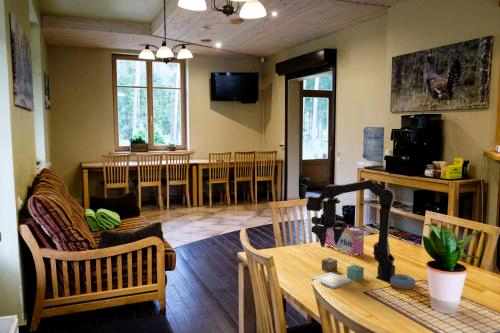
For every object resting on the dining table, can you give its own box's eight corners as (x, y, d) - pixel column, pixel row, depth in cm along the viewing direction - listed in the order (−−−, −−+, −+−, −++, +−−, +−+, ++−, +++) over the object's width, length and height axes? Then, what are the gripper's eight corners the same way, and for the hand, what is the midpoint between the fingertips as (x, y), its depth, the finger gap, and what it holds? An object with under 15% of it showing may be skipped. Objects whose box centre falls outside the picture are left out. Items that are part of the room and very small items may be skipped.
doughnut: (392, 289, 162) (393, 278, 162) (387, 281, 172) (388, 271, 172) (417, 292, 161) (419, 281, 161) (411, 284, 171) (412, 274, 171)
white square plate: (351, 281, 171) (351, 279, 171) (333, 288, 164) (333, 286, 164) (330, 274, 181) (330, 271, 181) (311, 280, 174) (311, 278, 173)
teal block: (363, 278, 176) (363, 267, 175) (356, 281, 172) (356, 269, 172) (354, 275, 179) (354, 264, 179) (347, 277, 176) (347, 266, 176)
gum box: (322, 245, 228) (323, 222, 226) (333, 243, 231) (333, 220, 230) (353, 256, 207) (353, 230, 206) (364, 254, 211) (364, 228, 210)
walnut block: (337, 270, 186) (337, 260, 186) (329, 272, 183) (330, 262, 183) (328, 267, 190) (329, 257, 190) (321, 270, 187) (321, 259, 186)
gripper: (329, 207, 196) (329, 238, 197) (302, 212, 185) (302, 245, 186) (347, 210, 187) (347, 243, 189) (320, 216, 176) (320, 250, 177)
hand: (329, 245), depth 185 cm, fingers open, 9 cm apart
